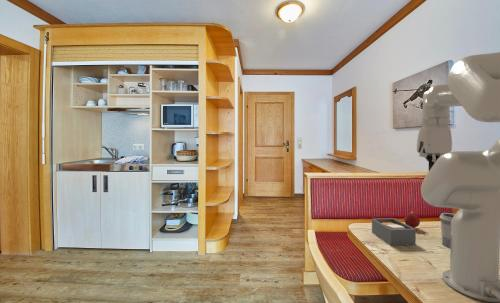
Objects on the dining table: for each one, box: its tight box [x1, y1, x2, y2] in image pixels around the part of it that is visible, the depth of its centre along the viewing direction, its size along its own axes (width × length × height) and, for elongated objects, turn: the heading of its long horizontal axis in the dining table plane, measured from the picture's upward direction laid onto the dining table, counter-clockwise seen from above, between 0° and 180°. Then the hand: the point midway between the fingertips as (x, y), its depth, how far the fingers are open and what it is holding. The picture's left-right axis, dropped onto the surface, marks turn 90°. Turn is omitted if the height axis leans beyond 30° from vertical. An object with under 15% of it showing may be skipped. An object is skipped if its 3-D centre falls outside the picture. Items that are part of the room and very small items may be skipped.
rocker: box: [382, 222, 405, 229], centre depth 92 cm, size 8×5×1 cm, turn 2°
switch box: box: [371, 217, 417, 246], centre depth 92 cm, size 13×10×6 cm
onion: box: [403, 211, 421, 229], centre depth 102 cm, size 6×6×8 cm
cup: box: [439, 212, 456, 249], centre depth 85 cm, size 7×7×12 cm
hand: (434, 172), depth 82 cm, fingers closed
